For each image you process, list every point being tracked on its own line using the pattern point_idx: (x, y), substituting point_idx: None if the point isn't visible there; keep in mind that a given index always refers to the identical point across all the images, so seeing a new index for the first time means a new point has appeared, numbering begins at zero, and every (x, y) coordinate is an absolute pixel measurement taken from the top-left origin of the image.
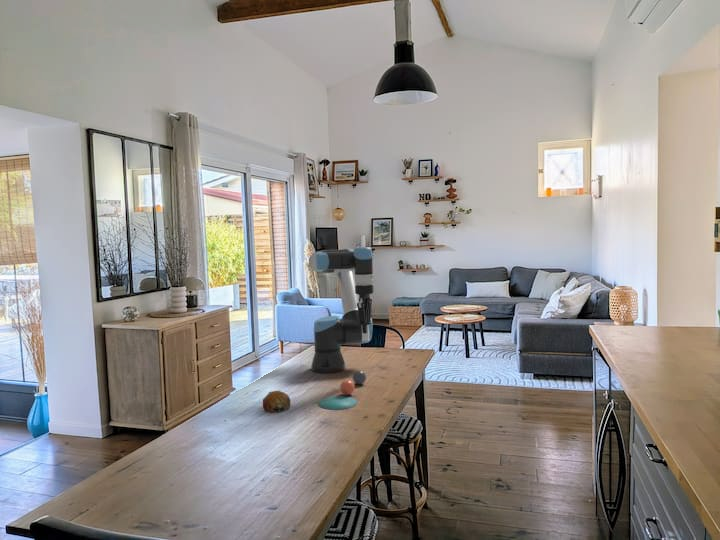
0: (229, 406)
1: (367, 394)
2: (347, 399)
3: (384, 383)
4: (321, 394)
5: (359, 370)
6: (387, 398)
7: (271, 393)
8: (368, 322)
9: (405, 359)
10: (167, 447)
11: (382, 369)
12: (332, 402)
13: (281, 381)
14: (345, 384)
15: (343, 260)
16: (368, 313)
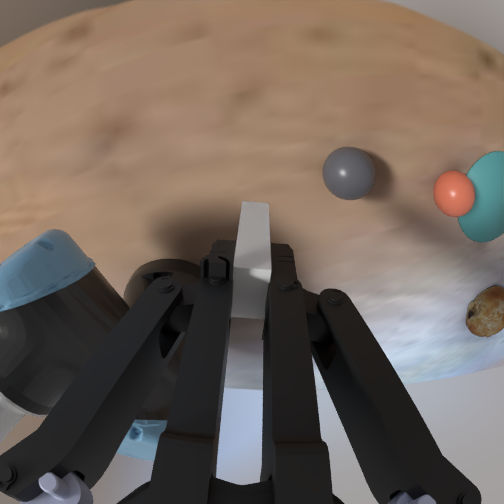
0: (453, 365)
1: (444, 126)
2: (480, 178)
3: (326, 76)
4: (432, 252)
5: (351, 182)
6: (471, 67)
7: (501, 329)
8: (230, 286)
9: (9, 102)
10: None
11: (132, 128)
12: (492, 211)
13: None
14: (474, 201)
15: None
16: (209, 368)
